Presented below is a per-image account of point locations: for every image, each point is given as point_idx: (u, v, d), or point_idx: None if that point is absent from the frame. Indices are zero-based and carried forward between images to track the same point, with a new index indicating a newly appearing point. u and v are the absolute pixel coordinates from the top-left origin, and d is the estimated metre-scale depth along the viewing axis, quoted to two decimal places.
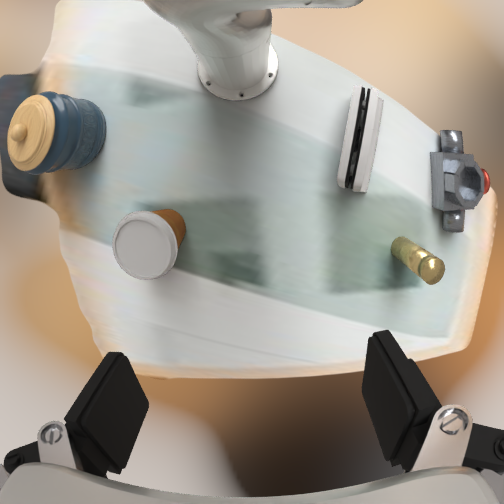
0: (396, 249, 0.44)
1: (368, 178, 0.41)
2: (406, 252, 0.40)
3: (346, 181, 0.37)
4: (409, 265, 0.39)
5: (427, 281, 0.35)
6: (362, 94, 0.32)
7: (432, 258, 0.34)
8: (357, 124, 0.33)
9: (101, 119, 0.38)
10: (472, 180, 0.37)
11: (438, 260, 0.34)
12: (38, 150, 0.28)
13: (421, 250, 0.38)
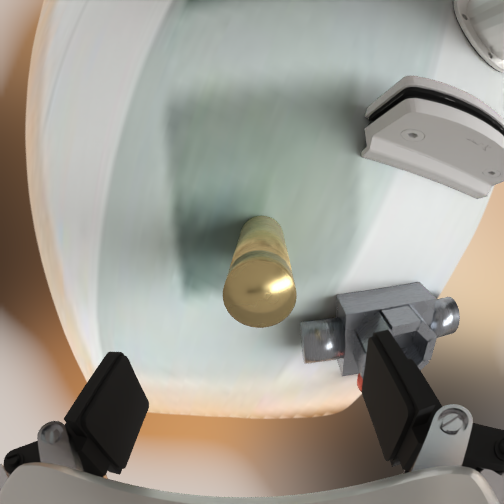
0: (264, 220, 0.24)
1: (391, 154, 0.22)
2: (271, 232, 0.21)
3: (409, 89, 0.16)
4: (249, 239, 0.19)
5: (231, 280, 0.15)
6: None
7: (294, 283, 0.15)
8: (492, 120, 0.14)
9: None
10: None
11: (291, 302, 0.15)
12: None
13: (289, 262, 0.19)
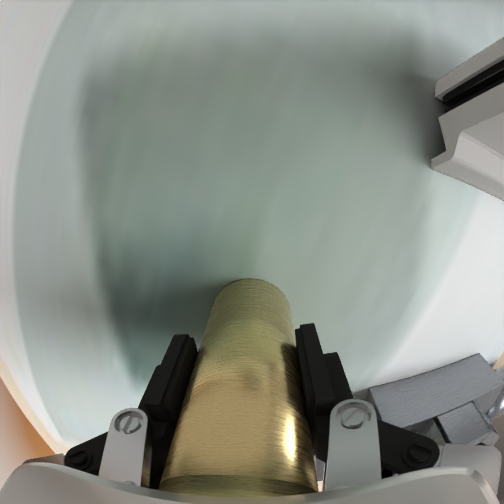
0: (255, 298, 0.12)
1: (483, 168, 0.10)
2: (270, 350, 0.09)
3: None
4: (213, 387, 0.07)
5: None
6: None
7: None
8: None
9: None
10: None
11: None
12: None
13: (310, 436, 0.07)
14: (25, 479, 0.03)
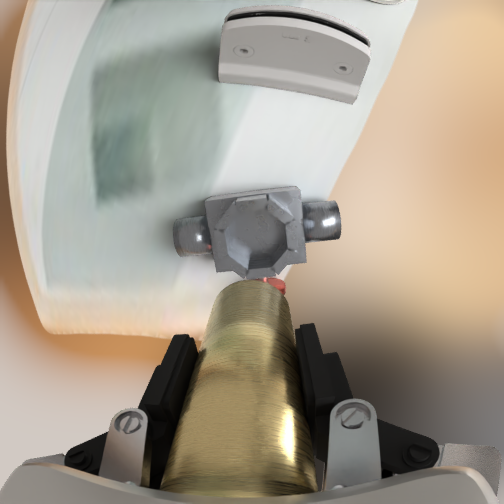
0: (255, 299, 0.12)
1: (238, 73, 0.27)
2: (270, 352, 0.09)
3: (228, 18, 0.21)
4: (213, 389, 0.07)
5: None
6: (357, 36, 0.20)
7: None
8: (311, 18, 0.19)
9: None
10: (263, 259, 0.30)
11: None
12: None
13: (310, 437, 0.07)
14: (25, 479, 0.03)
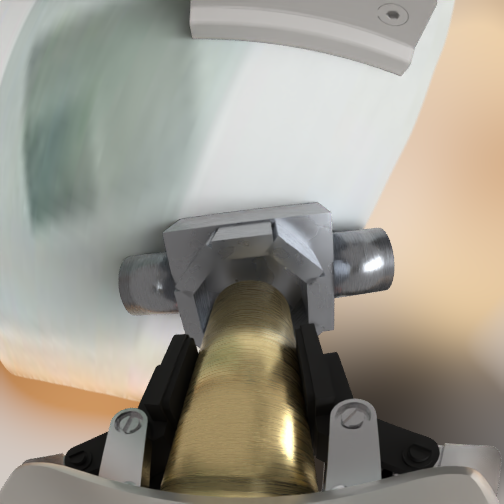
0: (255, 299, 0.12)
1: (221, 20, 0.14)
2: (270, 352, 0.09)
3: None
4: (213, 389, 0.07)
5: None
6: None
7: None
8: None
9: None
10: None
11: None
12: None
13: (310, 437, 0.07)
14: (25, 479, 0.03)
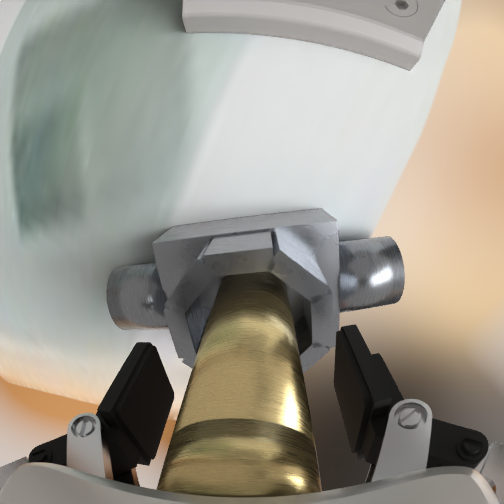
0: (256, 282, 0.13)
1: (216, 11, 0.12)
2: (270, 323, 0.10)
3: None
4: (220, 351, 0.08)
5: None
6: None
7: None
8: None
9: None
10: None
11: None
12: None
13: (306, 398, 0.08)
14: (25, 479, 0.03)
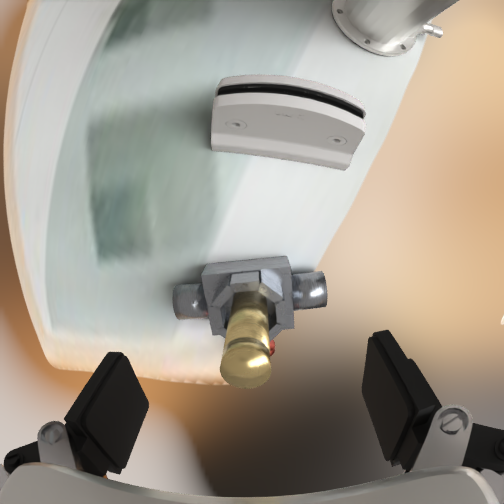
0: (252, 295, 0.30)
1: (231, 144, 0.30)
2: (256, 312, 0.27)
3: (219, 90, 0.24)
4: (239, 321, 0.25)
5: (226, 360, 0.21)
6: (352, 107, 0.23)
7: (269, 362, 0.21)
8: (306, 91, 0.22)
9: None
10: None
11: (267, 374, 0.21)
12: None
13: (268, 338, 0.25)
14: (25, 479, 0.03)
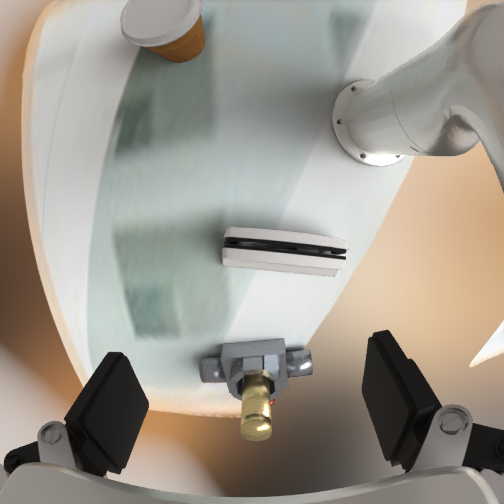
0: (258, 374, 0.40)
1: (239, 265, 0.39)
2: (262, 390, 0.36)
3: (227, 238, 0.33)
4: (250, 399, 0.35)
5: (244, 429, 0.30)
6: (337, 250, 0.32)
7: (271, 428, 0.31)
8: (298, 245, 0.31)
9: None
10: None
11: (269, 434, 0.31)
12: None
13: (270, 409, 0.34)
14: (25, 479, 0.03)
